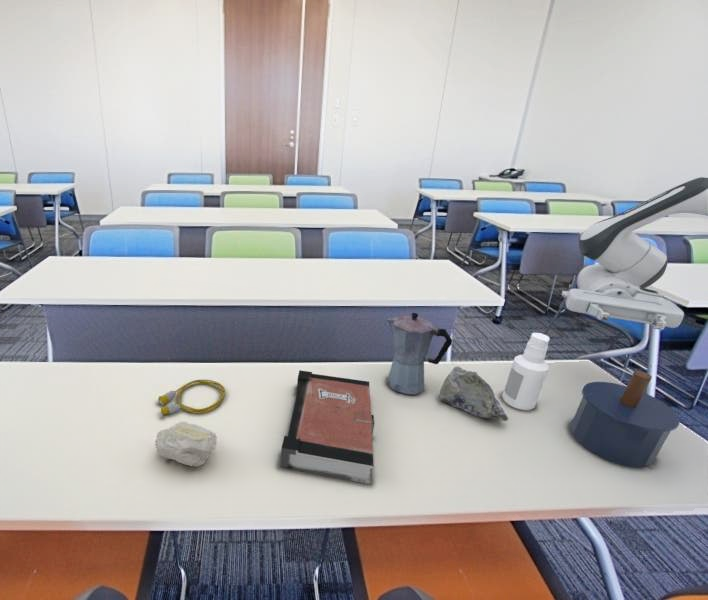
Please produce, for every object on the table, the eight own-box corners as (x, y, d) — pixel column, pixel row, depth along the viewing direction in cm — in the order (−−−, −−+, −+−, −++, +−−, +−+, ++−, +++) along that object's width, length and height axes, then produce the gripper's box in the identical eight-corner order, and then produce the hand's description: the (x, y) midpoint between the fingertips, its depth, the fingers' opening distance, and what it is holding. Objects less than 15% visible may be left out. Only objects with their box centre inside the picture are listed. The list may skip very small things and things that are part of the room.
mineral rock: (508, 428, 87) (521, 391, 83) (463, 432, 86) (474, 394, 82) (472, 392, 99) (482, 357, 95) (432, 394, 98) (440, 360, 93)
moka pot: (383, 366, 109) (395, 300, 100) (443, 387, 100) (460, 316, 92) (370, 383, 101) (382, 313, 93) (434, 407, 93) (452, 332, 85)
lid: (658, 397, 83) (675, 364, 80) (692, 444, 71) (714, 407, 68) (573, 379, 89) (586, 347, 86) (591, 419, 77) (607, 385, 73)
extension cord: (161, 385, 100) (161, 378, 99) (224, 381, 101) (224, 375, 100) (155, 417, 89) (154, 410, 88) (226, 413, 90) (226, 406, 89)
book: (374, 485, 73) (378, 465, 71) (280, 467, 76) (281, 447, 74) (369, 397, 96) (372, 380, 94) (298, 386, 100) (299, 370, 98)
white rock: (161, 439, 83) (153, 481, 74) (153, 410, 79) (145, 451, 70) (218, 433, 83) (218, 474, 75) (214, 404, 79) (213, 444, 71)
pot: (638, 431, 87) (656, 396, 83) (665, 477, 76) (688, 438, 72) (563, 413, 92) (578, 379, 88) (578, 453, 81) (595, 416, 77)
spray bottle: (514, 390, 100) (535, 326, 92) (541, 406, 94) (566, 340, 87) (495, 396, 97) (515, 332, 90) (522, 414, 91) (546, 346, 84)
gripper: (564, 278, 99) (577, 298, 87) (671, 293, 91) (701, 318, 79) (555, 301, 101) (568, 324, 90) (659, 318, 93) (687, 345, 82)
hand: (631, 321), depth 84 cm, fingers open, 8 cm apart
